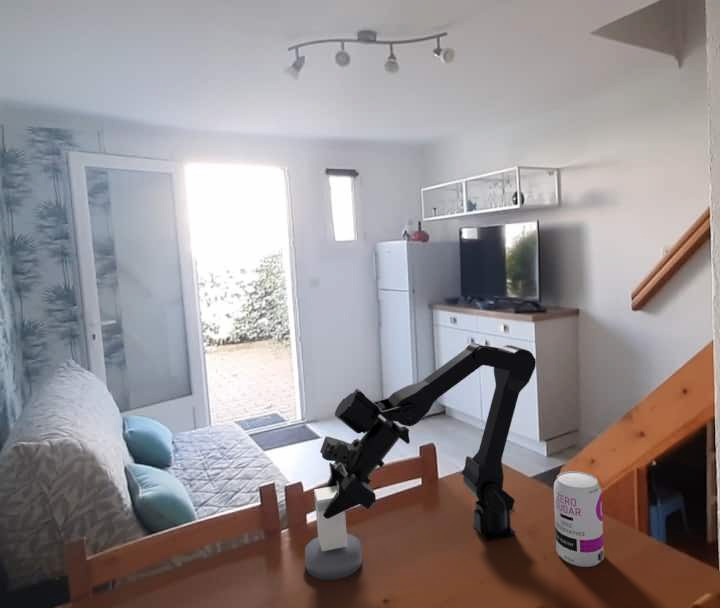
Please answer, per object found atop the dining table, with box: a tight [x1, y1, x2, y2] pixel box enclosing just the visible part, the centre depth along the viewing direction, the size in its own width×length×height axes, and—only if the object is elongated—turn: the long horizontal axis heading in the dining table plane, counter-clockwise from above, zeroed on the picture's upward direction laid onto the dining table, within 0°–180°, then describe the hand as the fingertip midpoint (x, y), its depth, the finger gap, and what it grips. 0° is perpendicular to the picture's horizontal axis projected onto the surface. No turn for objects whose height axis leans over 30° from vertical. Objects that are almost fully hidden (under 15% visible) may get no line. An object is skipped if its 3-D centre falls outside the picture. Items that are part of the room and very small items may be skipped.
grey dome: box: [304, 533, 363, 581], centre depth 100 cm, size 11×11×3 cm
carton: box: [313, 486, 348, 551], centre depth 99 cm, size 5×5×10 cm
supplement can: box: [553, 471, 605, 568], centre depth 96 cm, size 8×8×15 cm
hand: (323, 510), depth 99 cm, fingers closed on carton, 5 cm apart
